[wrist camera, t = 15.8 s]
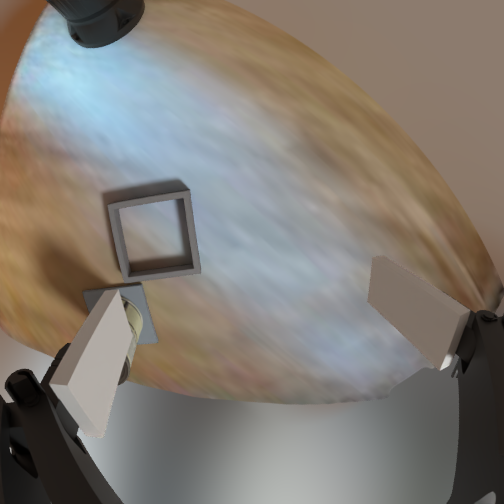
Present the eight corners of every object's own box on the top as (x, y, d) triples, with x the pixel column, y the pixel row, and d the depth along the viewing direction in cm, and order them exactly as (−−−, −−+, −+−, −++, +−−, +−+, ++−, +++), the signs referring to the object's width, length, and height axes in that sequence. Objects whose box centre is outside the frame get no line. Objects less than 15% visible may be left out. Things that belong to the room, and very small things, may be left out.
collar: (112, 202, 42) (107, 204, 39) (189, 189, 44) (189, 190, 41) (127, 277, 46) (124, 283, 44) (201, 268, 48) (200, 273, 46)
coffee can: (114, 345, 49) (97, 391, 36) (86, 306, 46) (59, 347, 32) (153, 330, 49) (142, 378, 36) (125, 287, 46) (102, 328, 33)
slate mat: (83, 290, 45) (82, 292, 45) (142, 283, 47) (141, 285, 46) (103, 344, 49) (102, 346, 49) (158, 340, 51) (157, 342, 50)
